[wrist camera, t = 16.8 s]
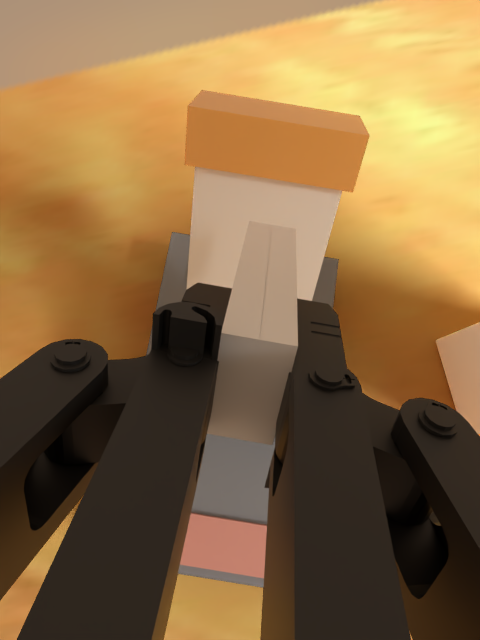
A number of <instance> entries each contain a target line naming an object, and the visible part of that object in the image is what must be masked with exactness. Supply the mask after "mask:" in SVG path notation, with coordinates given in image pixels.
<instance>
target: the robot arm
mask: <svg viewBox="0 0 480 640" xmlns="http://www.w3.org/2000/svg"><path fill="white" fill-rule="evenodd" d="M339 328H340V325H339V319H338V315H337V314H336V312H335V311H334V310H333V309H332V308H331V306H330V305H329V304H326V303H321V302H315V301H309V300H303V299H298V298H297V266H296V229H293V228H287V227H281V226H275V225H270V224H264V223H258V222H252V221H249V223H248V227H247V231H246V235H245V239H244V243H243V247H242V251H241V255H240V259H239V263H238V267H237V271H236V275H235V279H234V283H233V287H232V288H227V287H221V286H215V285H210V284H204V283H196V284H194V285H193V286H191V287H190V288H188V289H187V290H186V291H185V294H184V296H183V298H182V301H181V302H176V303H169V304H166V305H164V306H162V307H159V308H158V309H157V310H156V311H155V312H154V313H153V325H152V346H151V351H150V353H149V354H148V355H146V356H143V357H139V358H133V359H121V360H108V354H107V353H106V351H105V350H104V349H103V347H101V346H100V345H98V344H96V343H94V342H91V341H86V340H81V339H67V340H62V341H58V342H54V343H51V344H49V345H47V346H45V347H43V348H42V349H40V350H39V351H37V352H36V353H35V354H33V355H32V356H31V357H29V358H28V359H26V360H25V361H24V362H22V363H21V364H20V365H18V366H17V367H16V368H14V369H13V370H12V371H10V372H9V373H8V374H6V375H5V376H3V377H2V378H1V379H0V600H1V599H2V598H3V596H4V595H5V594H6V593H7V591H8V590H9V589H10V587H11V586H12V585H13V584H14V582H15V581H16V580H17V579H18V577H19V576H20V575H21V573H22V572H23V571H24V570H25V568H26V567H27V566H28V565H29V563H30V562H31V561H32V560H33V558H34V557H35V556H36V554H37V553H38V552H39V551H40V549H41V548H42V547H43V546H44V544H45V543H46V542H47V541H48V539H49V538H50V537H51V535H52V534H53V533H54V532H55V530H56V529H57V528H58V527H59V525H60V524H61V523H62V521H63V520H64V519H65V518H66V516H67V515H68V514H69V513H70V511H71V510H72V509H73V508H74V506H75V505H76V504H77V502H78V501H79V500H80V499H81V497H82V496H83V495H84V496H83V498H82V500H81V502H80V504H79V506H78V509H77V511H76V513H75V515H74V517H73V519H72V521H71V524H70V526H69V528H68V530H67V532H66V534H65V537H64V539H63V541H62V543H61V545H60V547H59V550H58V552H57V554H56V556H55V558H54V560H53V562H52V565H51V567H50V569H49V571H48V573H47V575H46V578H45V580H44V582H43V584H42V586H41V588H40V591H39V593H38V595H37V597H36V599H35V601H34V603H33V606H32V608H31V610H30V612H29V614H28V616H27V619H26V621H25V623H24V625H23V627H22V629H21V632H20V634H19V636H18V638H17V640H164V635H165V631H166V626H167V621H168V617H169V612H170V608H171V603H172V598H173V594H174V589H175V584H176V580H177V575H178V570H179V566H180V561H181V556H182V552H183V547H184V542H185V538H186V533H187V529H188V524H189V519H190V515H191V510H192V505H193V501H194V496H195V491H196V487H197V482H198V477H199V473H200V468H201V464H202V459H203V454H204V448H205V441H206V435H207V434H212V435H218V436H223V437H229V438H234V439H240V440H246V441H251V442H257V443H262V444H268V445H273V441H274V437H275V449H274V453H273V456H272V460H271V464H270V468H269V471H268V475H267V479H266V483H265V487H264V488H269V498H268V516H267V534H266V551H265V569H264V587H263V604H262V622H261V640H411V638H410V634H411V636H412V639H413V640H480V437H479V435H478V434H477V433H476V431H475V430H474V429H473V427H472V426H471V425H470V423H469V422H468V421H467V420H466V419H465V418H464V417H463V416H462V415H461V414H460V413H458V412H457V411H455V410H454V409H452V408H451V407H449V406H447V405H445V404H443V403H440V402H437V401H435V400H431V399H425V398H415V399H409V400H408V401H407V402H405V403H404V404H402V407H401V409H400V410H397V409H395V408H392V407H390V406H387V405H385V404H382V403H380V402H377V401H375V400H373V399H371V398H369V397H368V396H366V395H365V394H363V393H362V390H361V385H360V383H359V381H358V379H357V377H356V376H355V375H354V374H353V373H352V372H351V371H350V370H348V369H347V366H346V360H345V354H344V349H343V343H342V338H341V331H340V329H339ZM275 433H276V435H275ZM409 631H410V633H409Z"/></svg>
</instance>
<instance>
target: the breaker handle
mask: <svg viewBox="0 0 480 640" xmlns="http://www.w3.org/2000/svg"><path fill="white" fill-rule="evenodd" d="M368 139H369V134H368V132H367V130H366V128H365V126H364V124H363V122H362V120H361V118H360V116H357V115H351V114H345V113H339V112H333V111H327V110H321V109H314V108H308V107H302V106H296V105H290V104H284V103H278V102H272V101H266V100H259V99H253V98H247V97H241V96H235V95H229V94H223V93H217V92H211V91H204V90H202V91H201V92H200V93H199V94H198V95H197V96H196V97H195V98H194V100H193V101H192V102H191V103H190V104H189V105H188V113H187V131H186V149H185V165H189V166H195V174H194V189H193V203H192V218H191V232H190V246H189V261H188V275H187V289H188V288H190V287H191V286H193V285H194V284H196V283H204V284H210V285H215V286H221V287H227V288H232V287H233V283H234V279H235V275H236V271H237V267H238V263H239V259H240V255H241V251H242V247H243V243H244V239H245V235H246V231H247V227H248V223H249V221H252V222H258V223H264V224H270V225H275V226H281V227H287V228H293V229H296V266H297V298H298V299H303V300H309V301H312V299H313V295H314V291H315V288H316V284H317V280H318V277H319V273H320V270H321V266H322V262H323V259H324V255H325V251H326V248H327V244H328V241H329V237H330V233H331V230H332V226H333V223H334V219H335V215H336V212H337V208H338V204H339V201H340V197H341V194H342V191H348V192H353V190H354V187H355V184H356V180H357V177H358V173H359V170H360V166H361V163H362V160H363V156H364V153H365V149H366V146H367V142H368ZM187 289H186V290H187Z"/></svg>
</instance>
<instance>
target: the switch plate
mask: <svg viewBox="0 0 480 640" xmlns="http://www.w3.org/2000/svg"><path fill="white" fill-rule="evenodd" d="M189 246H190V235H187V234H181V233H175V232H172V235H171V240H170V245H169V249H168V254H167V259H166V264H165V268H164V273H163V278H162V283H161V287H160V292H159V297H158V302H157V306H156V310H157V309H158V308H159V307H162V306H164V305H166V304H169V303H176V302H181V301H182V298H183V296H184V294H185V291H186V289H187V275H188V261H189ZM338 261H339V259H334V258H328V257H324V259H323V262H322V266H321V270H320V273H319V277H318V280H317V284H316V288H315V291H314V295H313V299H312V301H315V302H321V303H326V304H329V305H330V306H331V308H332V309H333V304H334V295H335V287H336V278H337V269H338ZM151 346H152V330H151V335H150V340H149V344H148V349H147V354H146V355H148V354H149V353H150V351H151ZM275 435H276V433H275ZM274 449H275V437H274V441H273V445H268V444H262V443H257V442H251V441H246V440H240V439H234V438H229V437H223V436H218V435H212V434H207V435H206V441H205V448H204V454H203V459H202V464H201V468H200V473H199V477H198V482H197V487H196V491H195V496H194V501H193V505H192V510H191V515H190V519H189V524H188V529H187V533H186V538H185V542H184V547H183V552H182V556H181V561H180V566H179V570H178V574H184V575H190V576H196V577H202V578H208V579H214V580H220V581H226V582H232V583H239V584H245V585H251V586H257V587H264V569H265V551H266V534H267V516H268V498H269V488H264V487H265V483H266V479H267V475H268V471H269V468H270V464H271V460H272V456H273V453H274Z"/></svg>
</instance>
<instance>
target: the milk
mask: <svg viewBox="0 0 480 640" xmlns="http://www.w3.org/2000/svg"><path fill="white" fill-rule="evenodd" d="M436 344H437V348H438V351H439V354H440V358H441V361H442V365H443V368H444V371H445V375H446V378H447V381H448V385H449V388H450V391H451V395H452V398H453V401H454V405H455V408H456V411H457V412H458V413H460V414H461V415H462V416H463V417H464V418H465V419H466V420H467V421H468V422H469V423H470V425H471V426H472V427H473V429H474V430H475V431H476V433H477V434H480V322H479V323H476V324H474V325H471V326H469V327H466V328H464V329H461V330H459V331H456V332H454V333H452V334H449V335H447V336H444V337H442V338H439V339H437V340H436Z"/></svg>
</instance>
